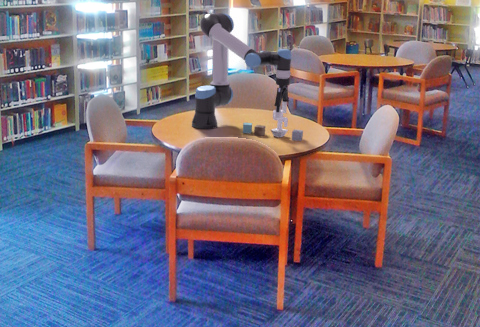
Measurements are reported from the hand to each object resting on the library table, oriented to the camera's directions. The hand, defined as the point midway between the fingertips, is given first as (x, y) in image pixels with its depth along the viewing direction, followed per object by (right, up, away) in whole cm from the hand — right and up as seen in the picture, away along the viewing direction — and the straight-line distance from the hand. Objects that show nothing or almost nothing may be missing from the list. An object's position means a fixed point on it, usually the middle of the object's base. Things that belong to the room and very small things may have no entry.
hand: (280, 115), depth 330 cm
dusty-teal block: (-19, -9, +9) cm, 23 cm away
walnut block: (-12, -11, +5) cm, 17 cm away
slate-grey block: (+9, -14, -1) cm, 16 cm away
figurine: (-1, -12, +4) cm, 12 cm away
